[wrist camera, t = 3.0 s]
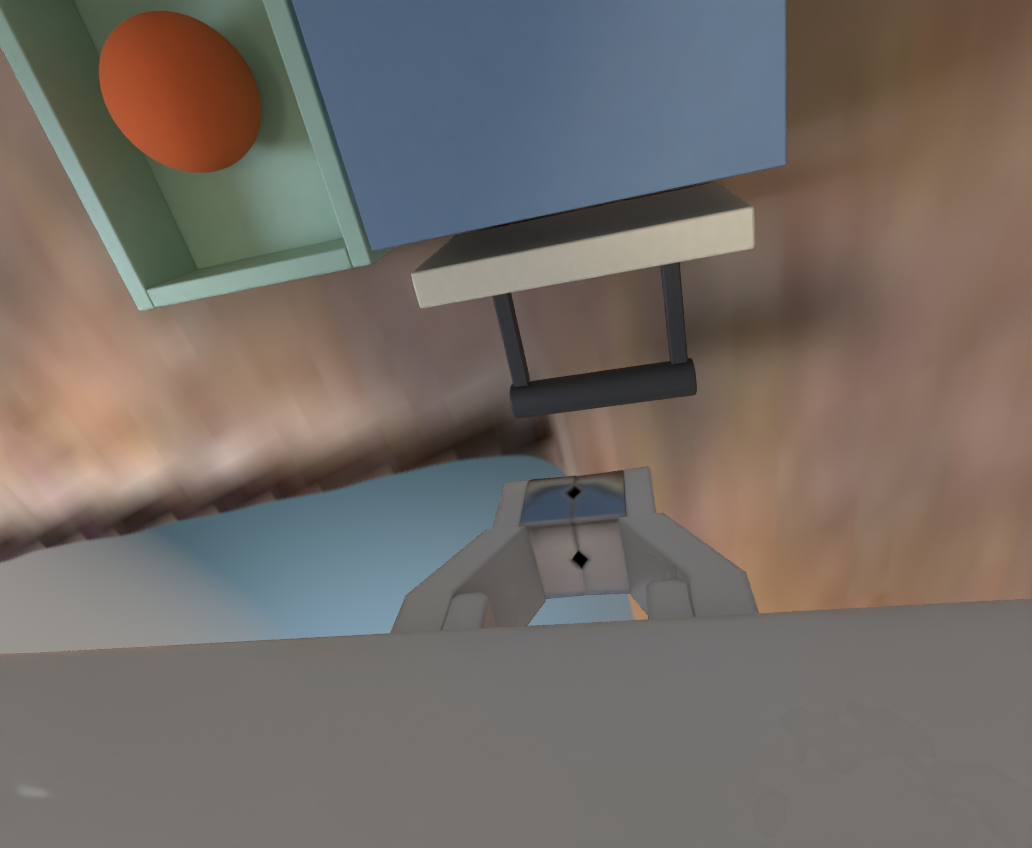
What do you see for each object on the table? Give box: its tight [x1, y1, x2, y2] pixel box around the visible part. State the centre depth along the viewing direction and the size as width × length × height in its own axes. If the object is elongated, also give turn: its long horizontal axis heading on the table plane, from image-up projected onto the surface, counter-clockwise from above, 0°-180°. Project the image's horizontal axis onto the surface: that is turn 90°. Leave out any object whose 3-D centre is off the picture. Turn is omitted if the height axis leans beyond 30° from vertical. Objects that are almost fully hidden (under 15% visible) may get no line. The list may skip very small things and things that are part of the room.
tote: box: [0, 0, 398, 311], centre depth 21 cm, size 11×14×4 cm
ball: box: [99, 11, 261, 173], centre depth 20 cm, size 5×5×5 cm
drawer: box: [411, 183, 755, 418], centre depth 19 cm, size 18×10×6 cm, turn 12°
